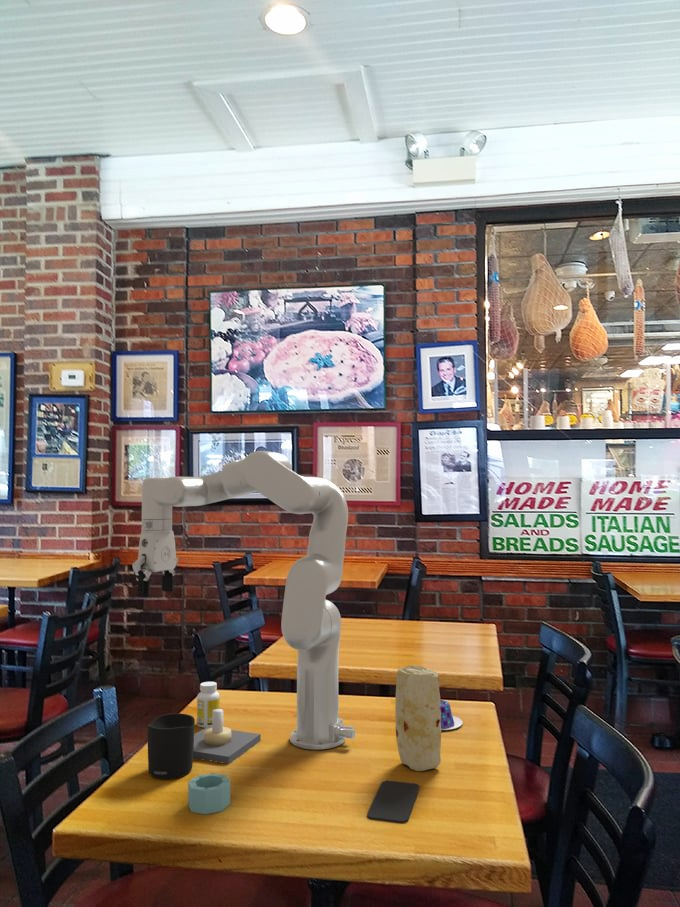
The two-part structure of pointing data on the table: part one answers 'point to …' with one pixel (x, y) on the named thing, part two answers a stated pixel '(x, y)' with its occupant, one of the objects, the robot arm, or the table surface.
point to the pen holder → (170, 745)
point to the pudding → (448, 717)
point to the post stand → (222, 741)
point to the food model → (418, 717)
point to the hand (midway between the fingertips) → (156, 593)
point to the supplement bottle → (207, 703)
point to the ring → (209, 793)
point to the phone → (393, 802)
